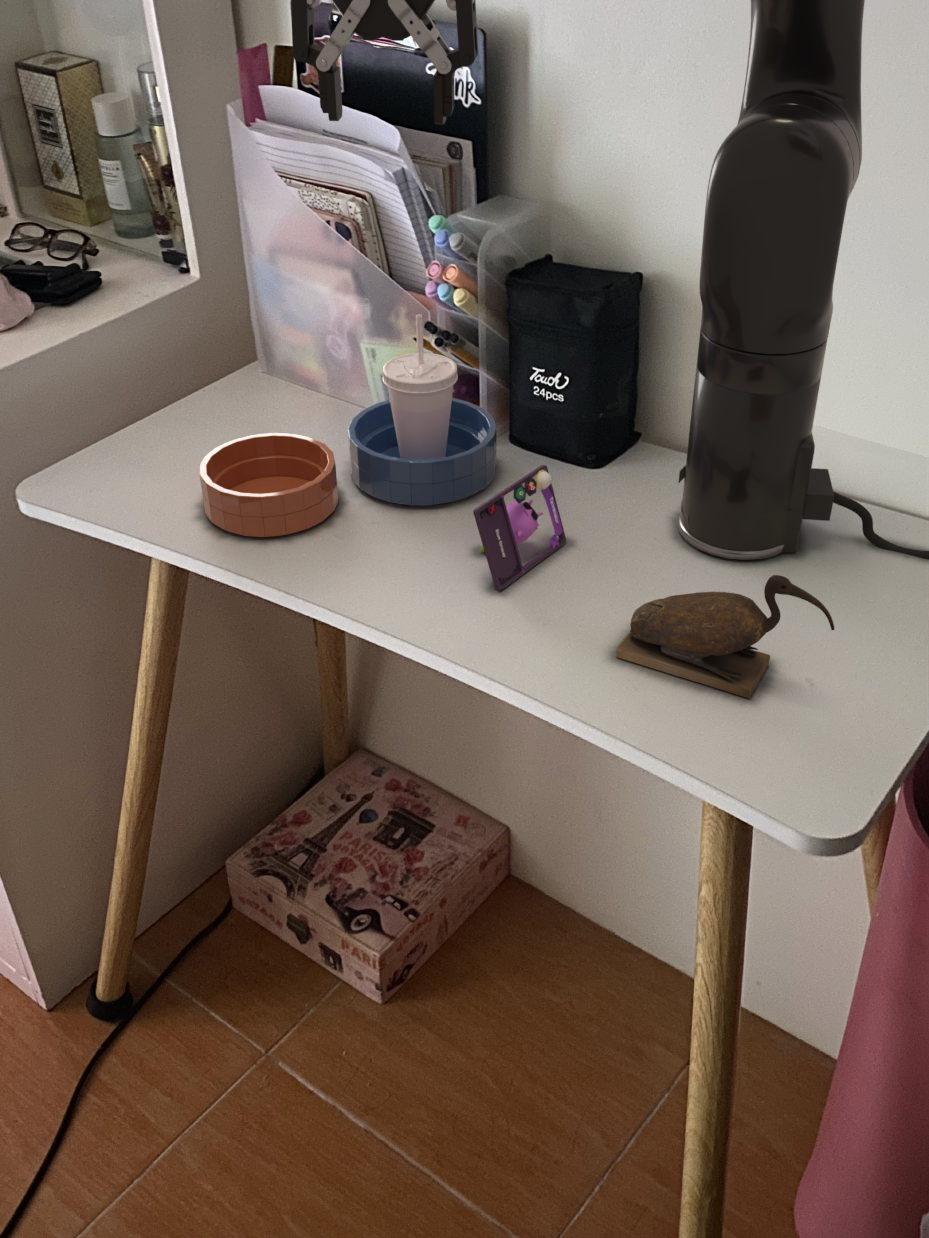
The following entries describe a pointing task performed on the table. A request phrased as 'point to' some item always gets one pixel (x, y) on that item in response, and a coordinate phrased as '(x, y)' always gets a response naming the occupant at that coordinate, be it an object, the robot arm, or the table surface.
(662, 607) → the figurine
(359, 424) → the blue bowl
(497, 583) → the purple framed piece
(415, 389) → the smoothie
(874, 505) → the table surface
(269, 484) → the terracotta bowl
